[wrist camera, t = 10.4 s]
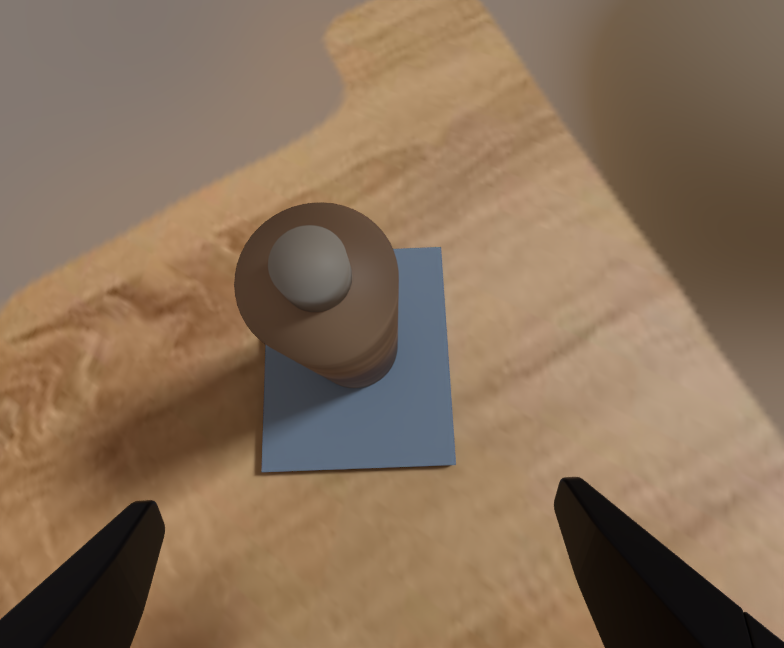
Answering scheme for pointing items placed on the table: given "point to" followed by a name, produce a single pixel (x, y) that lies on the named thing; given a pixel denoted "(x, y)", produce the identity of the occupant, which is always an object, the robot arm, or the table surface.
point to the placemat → (370, 393)
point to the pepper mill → (323, 292)
